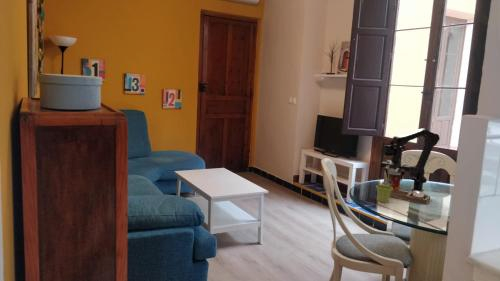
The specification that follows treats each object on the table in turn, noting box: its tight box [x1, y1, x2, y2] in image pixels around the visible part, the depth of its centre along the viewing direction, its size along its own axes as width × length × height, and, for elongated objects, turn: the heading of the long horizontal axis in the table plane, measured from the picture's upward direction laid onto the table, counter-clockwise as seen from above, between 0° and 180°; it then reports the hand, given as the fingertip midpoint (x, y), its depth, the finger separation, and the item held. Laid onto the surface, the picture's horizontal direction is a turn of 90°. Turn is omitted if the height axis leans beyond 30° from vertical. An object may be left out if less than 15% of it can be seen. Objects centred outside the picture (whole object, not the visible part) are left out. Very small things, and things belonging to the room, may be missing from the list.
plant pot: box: [375, 184, 393, 203], centre depth 235 cm, size 9×9×9 cm
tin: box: [412, 190, 425, 199], centre depth 242 cm, size 6×6×5 cm
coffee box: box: [383, 159, 397, 186], centre depth 280 cm, size 9×6×16 cm
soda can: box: [387, 171, 402, 190], centre depth 260 cm, size 7×7×12 cm
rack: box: [390, 189, 431, 205], centre depth 245 cm, size 12×22×2 cm, turn 56°
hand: (394, 179), depth 260 cm, fingers open, 8 cm apart
